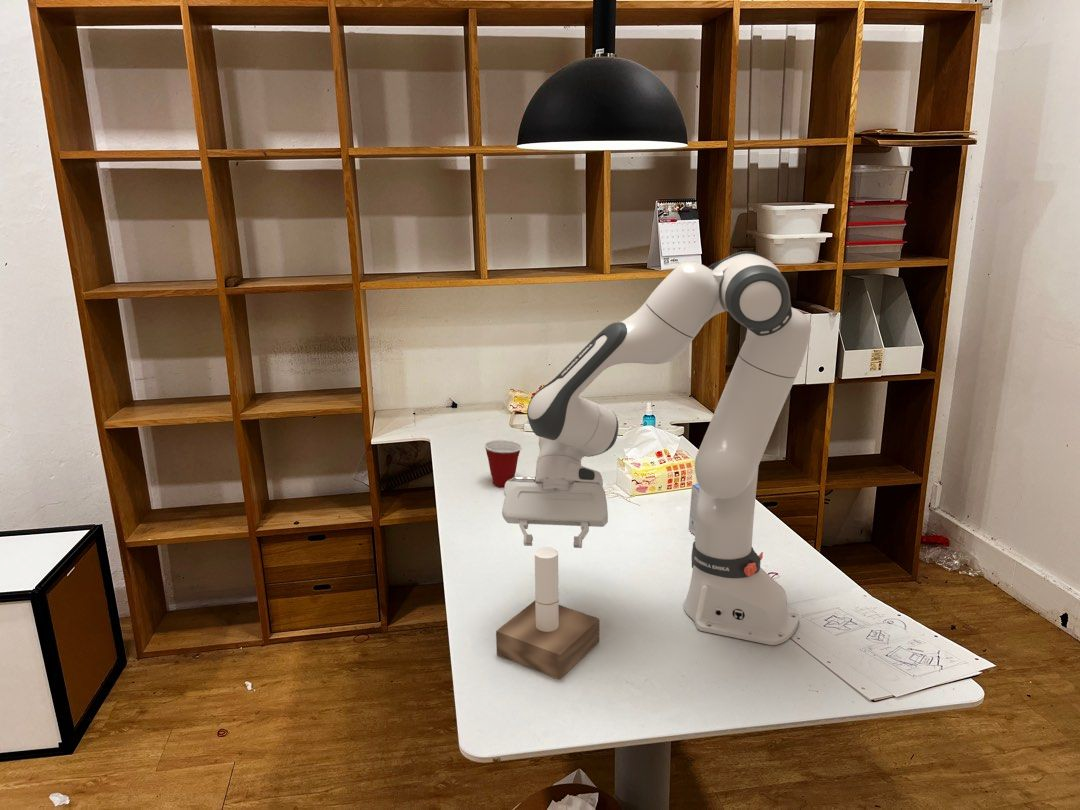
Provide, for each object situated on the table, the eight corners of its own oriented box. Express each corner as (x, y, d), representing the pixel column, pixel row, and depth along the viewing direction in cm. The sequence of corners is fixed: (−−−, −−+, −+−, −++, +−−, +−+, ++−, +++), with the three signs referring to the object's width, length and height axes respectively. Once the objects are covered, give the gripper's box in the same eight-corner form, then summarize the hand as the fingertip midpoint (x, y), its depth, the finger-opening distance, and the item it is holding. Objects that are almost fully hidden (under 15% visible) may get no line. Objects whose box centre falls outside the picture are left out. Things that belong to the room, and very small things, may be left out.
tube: (548, 634, 147) (547, 560, 143) (531, 626, 150) (529, 553, 146) (563, 624, 150) (562, 552, 146) (545, 616, 153) (544, 545, 149)
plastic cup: (528, 487, 226) (527, 447, 223) (491, 493, 223) (490, 453, 219) (516, 474, 236) (515, 436, 233) (480, 479, 233) (479, 440, 229)
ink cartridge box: (727, 544, 192) (730, 487, 188) (706, 547, 190) (709, 490, 186) (708, 526, 201) (711, 472, 197) (687, 529, 200) (690, 475, 195)
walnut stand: (599, 641, 154) (599, 618, 152) (560, 679, 142) (559, 655, 141) (538, 619, 161) (538, 597, 160) (496, 654, 150) (496, 631, 148)
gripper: (503, 469, 156) (495, 538, 149) (608, 473, 153) (605, 542, 146) (508, 482, 161) (500, 549, 155) (610, 485, 158) (607, 553, 152)
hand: (552, 546), depth 151 cm, fingers open, 8 cm apart
